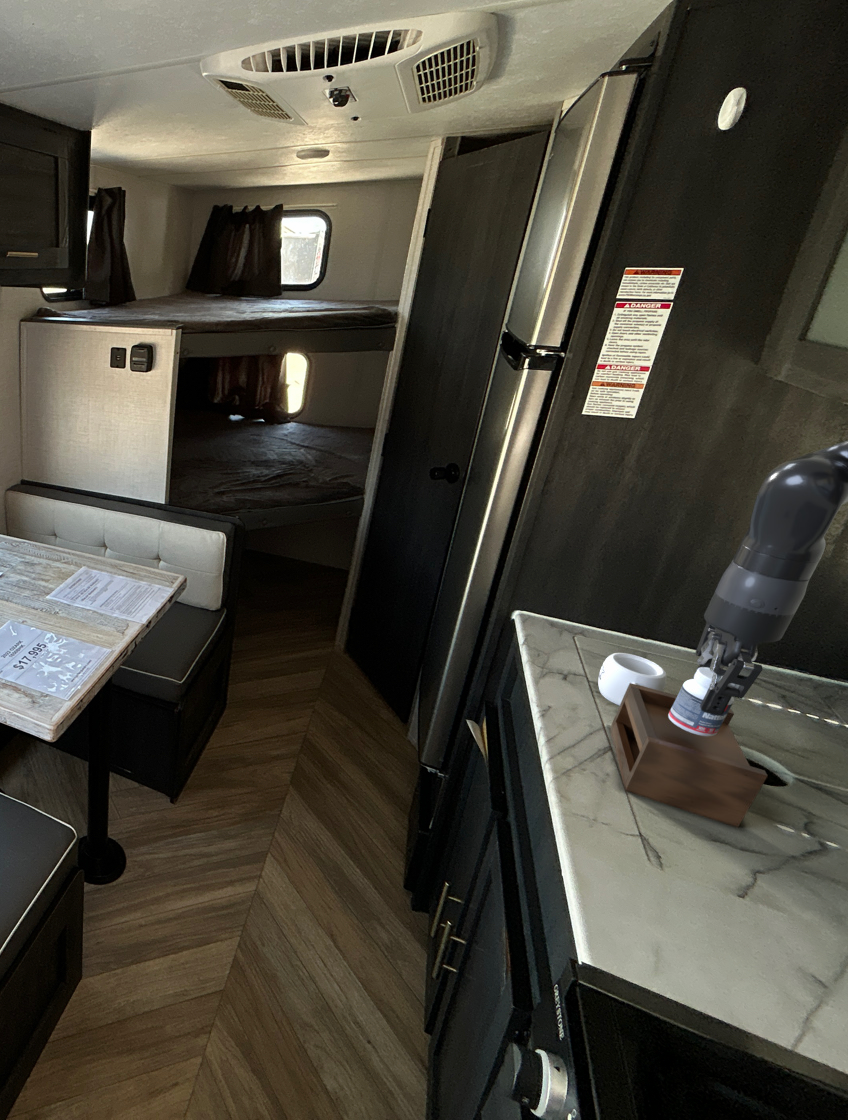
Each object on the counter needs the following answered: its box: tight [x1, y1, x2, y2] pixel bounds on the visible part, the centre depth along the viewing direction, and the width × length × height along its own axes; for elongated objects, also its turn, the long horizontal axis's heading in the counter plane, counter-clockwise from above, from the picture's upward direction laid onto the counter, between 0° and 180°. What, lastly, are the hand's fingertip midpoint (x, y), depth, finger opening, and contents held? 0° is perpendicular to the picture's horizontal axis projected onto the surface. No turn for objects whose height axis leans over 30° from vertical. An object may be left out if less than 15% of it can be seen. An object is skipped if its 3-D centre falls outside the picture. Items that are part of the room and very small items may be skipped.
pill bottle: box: [668, 667, 735, 736], centre depth 91 cm, size 5×5×9 cm
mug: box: [597, 652, 668, 706], centre depth 110 cm, size 12×8×8 cm
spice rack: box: [609, 683, 768, 829], centre depth 95 cm, size 12×16×10 cm
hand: (704, 700), depth 91 cm, fingers closed on pill bottle, 5 cm apart
